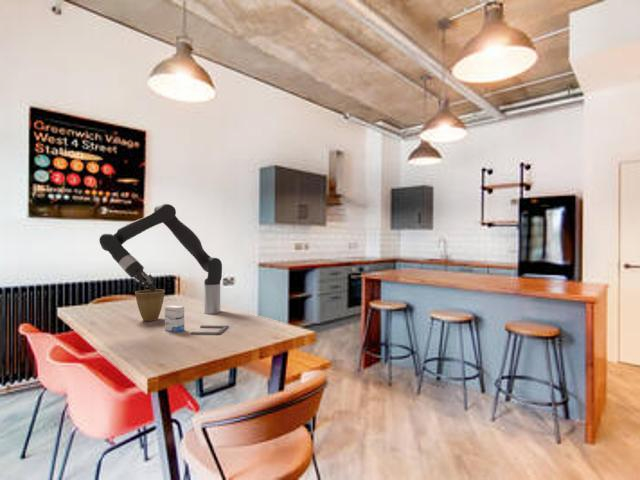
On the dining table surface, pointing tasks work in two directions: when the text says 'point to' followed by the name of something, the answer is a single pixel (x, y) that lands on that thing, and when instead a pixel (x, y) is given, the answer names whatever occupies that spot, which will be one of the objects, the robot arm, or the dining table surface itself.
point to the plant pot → (150, 303)
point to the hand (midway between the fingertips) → (155, 290)
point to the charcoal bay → (211, 332)
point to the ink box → (174, 318)
